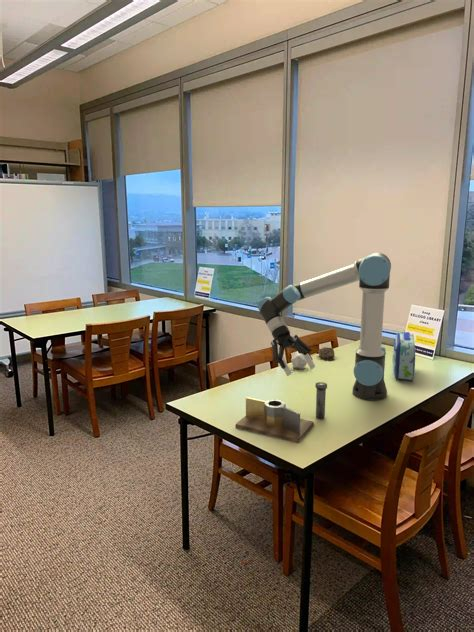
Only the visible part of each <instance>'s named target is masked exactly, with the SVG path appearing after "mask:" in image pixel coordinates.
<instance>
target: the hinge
mask: <svg viewBox="0 0 474 632" xmlns="http://www.w3.org/2000/svg"><path fill="white" fill-rule="evenodd" d="M286 406H287V405H286V402H285V401H284V400H280V399H268V400H262V399H257V398H252V397H247V396H246V397H245V416H246V417H250V418H254V419H258V420H263V421H264V423H265V424H266V425H267V426H270V427H284V428H286V429H288V430H290V431H292V432H294V433H297V434H300V419H301V413H300V412H298V411H295V410H293V409H291V408H288V407H286Z"/></svg>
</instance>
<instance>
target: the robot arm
mask: <svg viewBox="0 0 474 632" xmlns="http://www.w3.org/2000/svg"><path fill="white" fill-rule="evenodd" d="M391 269H392V263H391V260H390V259H389V257H388V256H387V255H386V254H384V253H381V252H372V253H369V254H368V255H367V256H365V257H363V258H360V259H357V260H355V261H354V263H352V264H351V265H348V266H345V267H342V268H339V269H336V270H333V271H330V272H327V273H324V274H321V275H319V276H316V277H313V278H311V279H307V280H305V281H301V282H298V283H296V284H289V285H288V286H286V287H284V288H283V289H282V290H281V291H279V293H277V294H275V296H273V297H272V298H271V296H266V297H263V298H261V299H260V300H259V301H258V302H257V305H256V307H257V309H258V311H259V314H260V315H261V317H262V319H263V320H264V322H265V324H266V326H267V328H268V331H269V332H270V333H271V336H272V337H273V340H272V341H271V342H270V345H271V348H272V361H273V363H276V364H279V366H280V368H281V369H283V371H284V372H285V375H286V376H287V377H289V376H290V375H291V374H292V373H293V372H292V370H291V369H290V367H289V365H288V363H287V361H286V359H284V353H285V350H286V349H294V350H295V351H297V353H300V354H303V355H305V356H304V358H305V360H306V362H307V365H308V367H309V369H310V370H311V371H312V370H313V369H314V368H316V364H315V363H314V361H313V357H312V356H311V352H312V349H311V347H309V346H308V345H307V344H306V343H305V342H304V341H302V339H300V337H299V336H298V335H297V334H294V335H293V336H292V335H291V330H290V329H289V327H288V326H287V323H286V322H285V320H284V318H283V317H282V315H281V314H282V313H283V312H284V311H286V310H287V309H288V308H290V307H291V306H293V304H296V303H297V302H298V301H302V300H304V299H306V298H310V297H314V296H316V295H320V294H322V293H325V292H328V291H331V290H335V289H337V288H340V287H344V286H347V285H350V284H353V283H356V282H358V283H359V285H358V287H359V289H360V290H361V291H362V300H361V315H360V317H361V320H360V337H359V346H358V347H357V349H356V350H355V359H354V360H355V361H354V367H353V376H354V378H355V382H354V384H353V385H352V394H353V396H355V397H357V398H358V399H359V398H360V399H363V400H367V401H381V400H384V399H387V396H388V388H387V386H386V383H385V367H386V363H385V362H386V354H387V351H386V348H385V347H384V346H383V345H382V340H383V325H384V324H383V323H384V309H385V305H384V304H385V293H386V292H387V291H388V290H389V288H390V277H391V276H390V275H391ZM278 347H279V348H278Z"/></svg>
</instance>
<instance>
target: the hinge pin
mask: <svg viewBox="0 0 474 632" xmlns="http://www.w3.org/2000/svg"><path fill="white" fill-rule="evenodd" d="M314 387H315V388H316V394H315V395H316V396H315V418H316V419H317V420H324V419H325V418H326V390H327V389H328V384H327V382H321V381H320V382H316V383H315V386H314Z"/></svg>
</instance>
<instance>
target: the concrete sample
mask: <svg viewBox="0 0 474 632" xmlns="http://www.w3.org/2000/svg"><path fill="white" fill-rule="evenodd" d="M318 356H319V357H320V359H322V360H323V361H333V360H334V358H335V350H334V348H333V347H322V348H318Z"/></svg>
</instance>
